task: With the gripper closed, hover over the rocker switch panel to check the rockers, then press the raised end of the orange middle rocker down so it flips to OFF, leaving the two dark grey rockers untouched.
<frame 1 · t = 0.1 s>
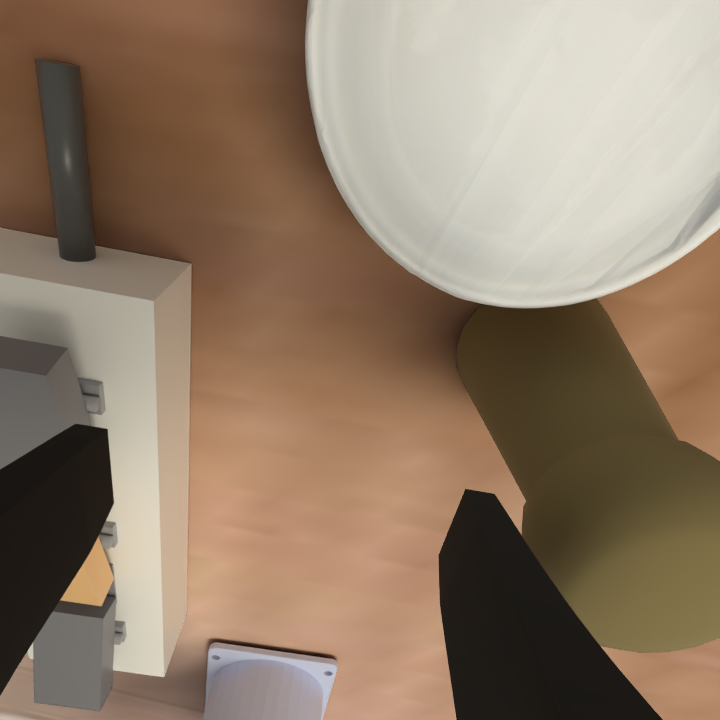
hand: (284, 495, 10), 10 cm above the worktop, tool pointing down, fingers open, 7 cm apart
rocker 1: (30, 415, 16), point 5 cm above the worktop, hinge at -12.0°
rocker middle: (57, 556, 19), point 5 cm above the worktop, hinge at -12.0°
rocker 2: (74, 650, 23), point 5 cm above the worktop, hinge at 12.0°
olive-brown rounded piece: (531, 349, 20), on the worktop
rocker switch panel: (115, 467, 23), on the worktop
ramekin: (509, 71, 15), on the worktop
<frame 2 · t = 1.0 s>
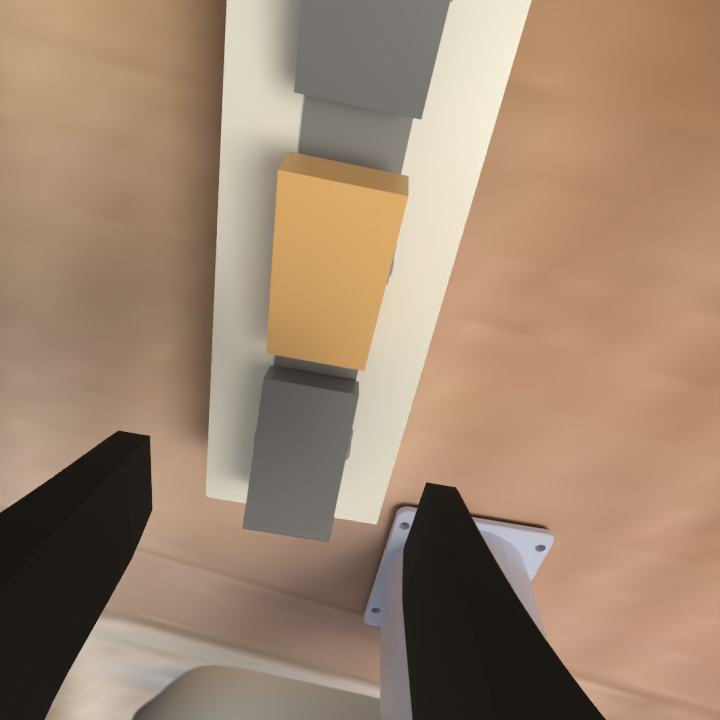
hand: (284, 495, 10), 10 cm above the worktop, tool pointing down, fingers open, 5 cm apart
rocker middle: (330, 273, 13), point 5 cm above the worktop, hinge at -12.0°
rocker 2: (300, 455, 17), point 5 cm above the worktop, hinge at 12.0°
rocker switch panel: (343, 221, 18), on the worktop
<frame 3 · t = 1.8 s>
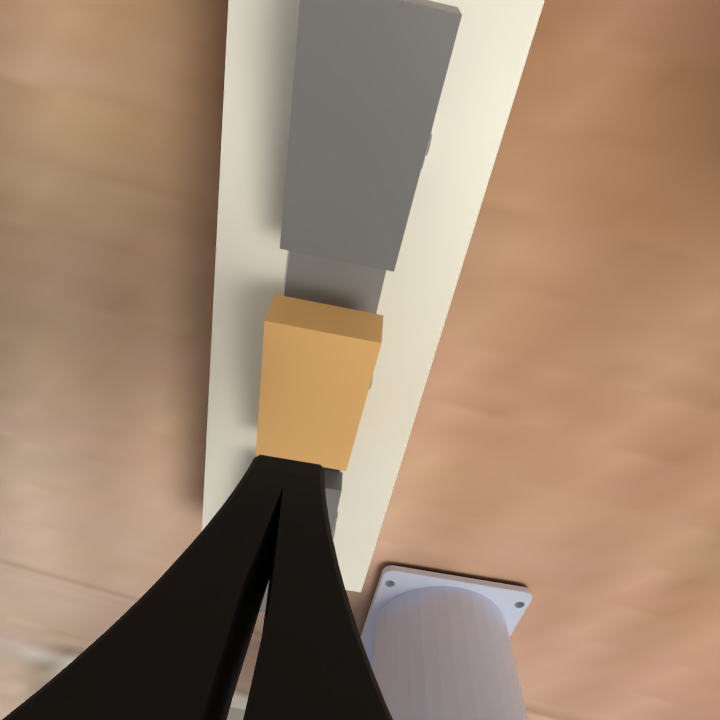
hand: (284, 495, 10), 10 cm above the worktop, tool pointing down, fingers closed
rocker 1: (358, 141, 11), point 5 cm above the worktop, hinge at -12.0°
rocker middle: (313, 391, 15), point 5 cm above the worktop, hinge at -12.0°
rocker 2: (287, 540, 18), point 5 cm above the worktop, hinge at 12.0°
rocker switch panel: (330, 317, 19), on the worktop
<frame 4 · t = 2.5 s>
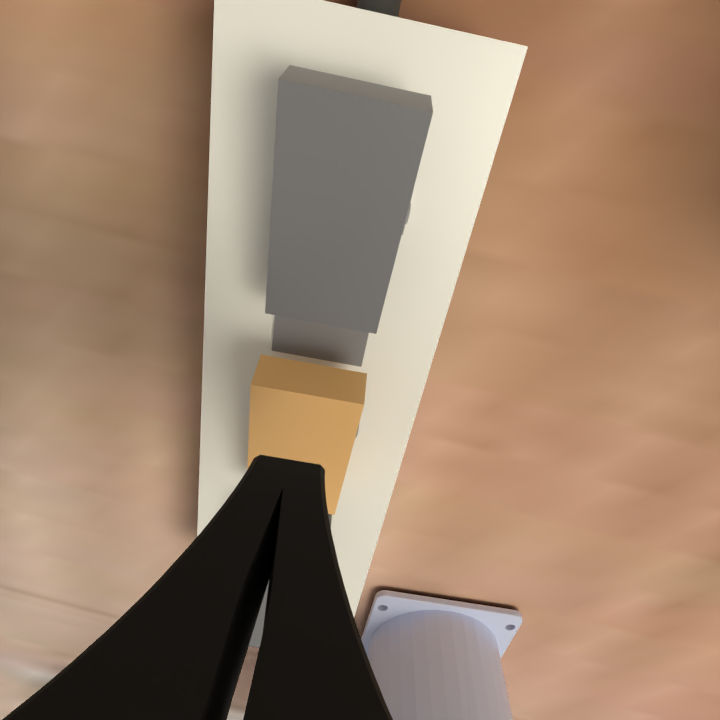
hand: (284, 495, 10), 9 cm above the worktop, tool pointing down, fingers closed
rocker 1: (338, 216, 12), point 5 cm above the worktop, hinge at -12.0°
rocker middle: (301, 442, 15), point 5 cm above the worktop, hinge at -12.0°
rocker 2: (279, 578, 18), point 5 cm above the worktop, hinge at 12.0°
rocker switch panel: (319, 358, 19), on the worktop
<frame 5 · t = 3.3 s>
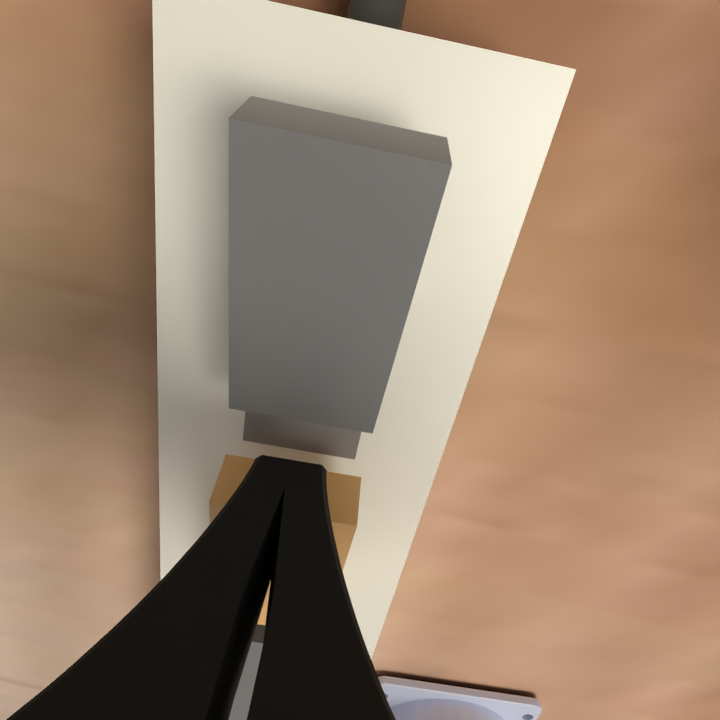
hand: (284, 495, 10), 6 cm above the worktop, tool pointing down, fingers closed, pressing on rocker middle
rocker 1: (321, 292, 9), point 5 cm above the worktop, hinge at -12.0°
rocker middle: (279, 554, 12), point 5 cm above the worktop, hinge at -11.2°, touching gripper
rocker 2: (256, 697, 15), point 5 cm above the worktop, hinge at 12.0°
rocker switch panel: (307, 429, 16), on the worktop
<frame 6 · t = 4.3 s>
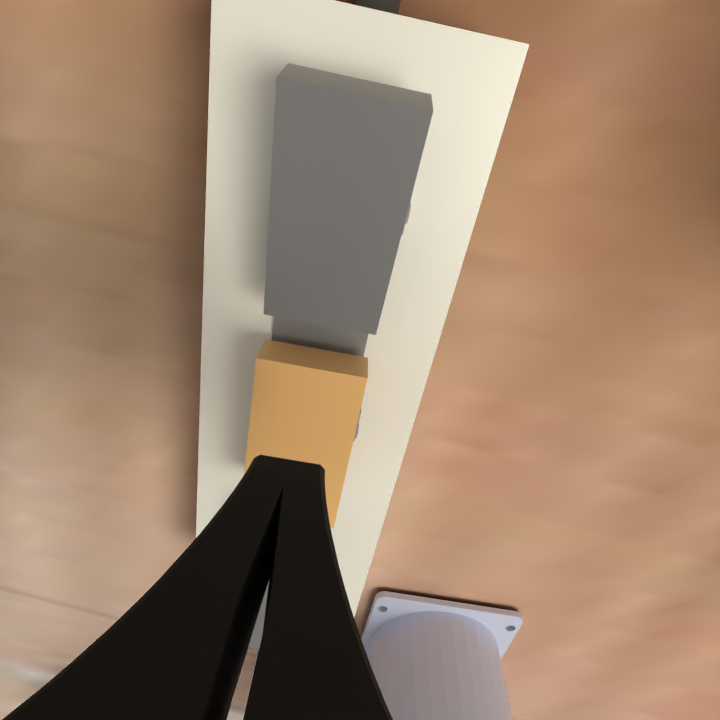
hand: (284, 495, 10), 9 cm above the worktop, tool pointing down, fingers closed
rocker 1: (337, 216, 12), point 5 cm above the worktop, hinge at -12.0°
rocker middle: (301, 438, 15), point 5 cm above the worktop, hinge at 2.9°
rocker 2: (278, 580, 18), point 5 cm above the worktop, hinge at 12.0°
rocker switch panel: (318, 359, 19), on the worktop
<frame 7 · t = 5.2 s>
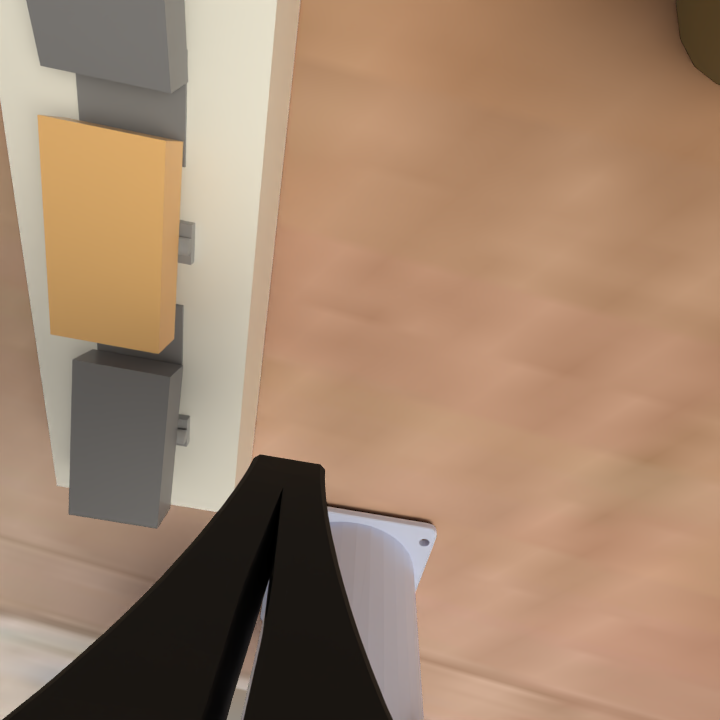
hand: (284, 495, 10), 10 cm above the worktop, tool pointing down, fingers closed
rocker middle: (114, 241, 13), point 5 cm above the worktop, hinge at 5.7°
rocker 2: (125, 440, 17), point 5 cm above the worktop, hinge at 12.0°
rocker switch panel: (179, 206, 18), on the worktop
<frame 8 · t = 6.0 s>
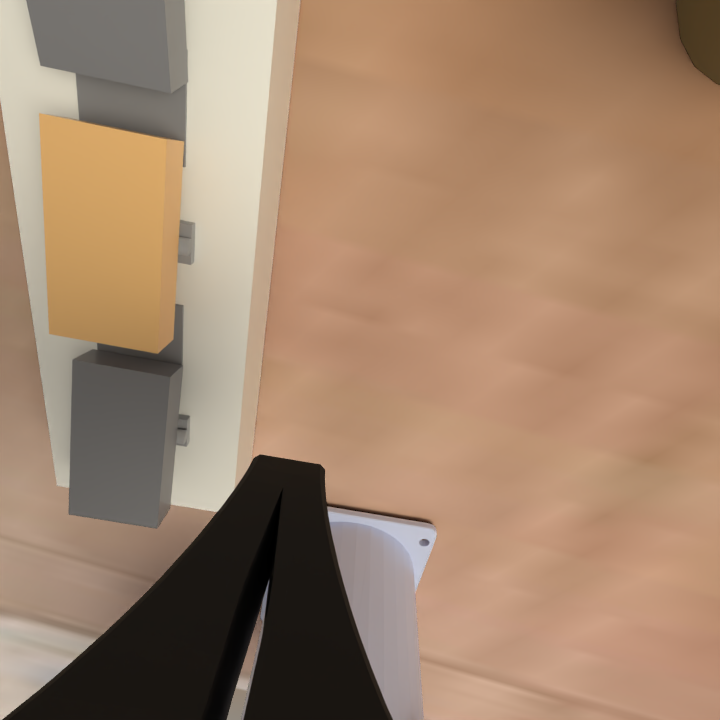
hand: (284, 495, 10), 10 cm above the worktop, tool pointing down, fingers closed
rocker middle: (114, 240, 13), point 5 cm above the worktop, hinge at 7.0°
rocker 2: (125, 440, 17), point 5 cm above the worktop, hinge at 12.0°
rocker switch panel: (179, 206, 18), on the worktop
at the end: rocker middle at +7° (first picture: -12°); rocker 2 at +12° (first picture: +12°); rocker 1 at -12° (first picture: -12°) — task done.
